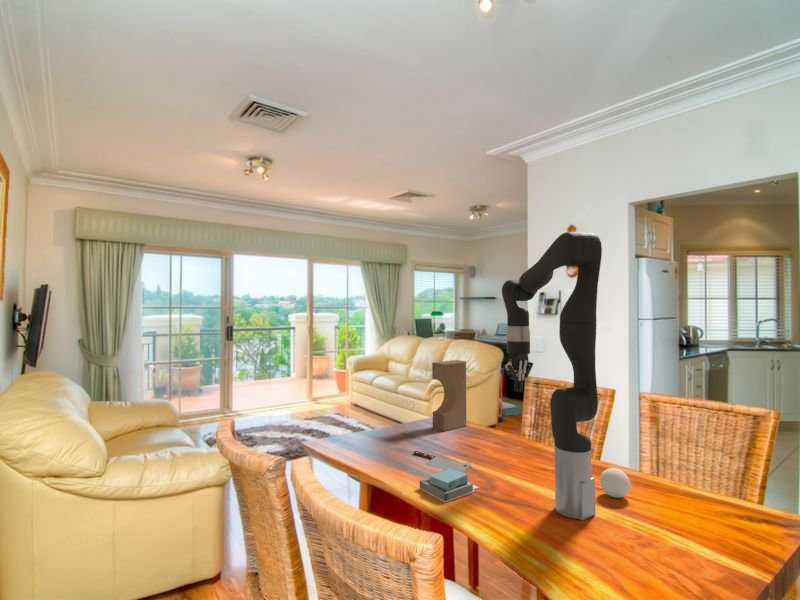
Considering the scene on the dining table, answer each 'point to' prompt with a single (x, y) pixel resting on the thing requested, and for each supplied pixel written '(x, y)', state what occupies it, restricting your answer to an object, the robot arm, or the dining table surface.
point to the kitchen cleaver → (443, 462)
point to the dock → (447, 495)
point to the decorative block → (450, 395)
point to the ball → (615, 482)
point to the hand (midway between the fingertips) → (518, 391)
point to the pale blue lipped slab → (449, 479)
